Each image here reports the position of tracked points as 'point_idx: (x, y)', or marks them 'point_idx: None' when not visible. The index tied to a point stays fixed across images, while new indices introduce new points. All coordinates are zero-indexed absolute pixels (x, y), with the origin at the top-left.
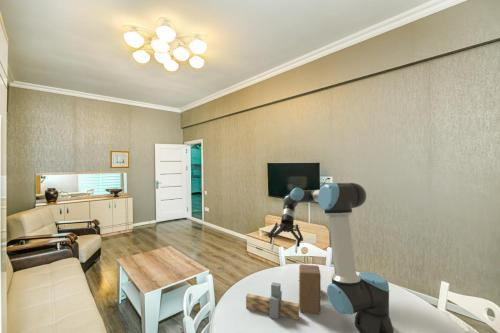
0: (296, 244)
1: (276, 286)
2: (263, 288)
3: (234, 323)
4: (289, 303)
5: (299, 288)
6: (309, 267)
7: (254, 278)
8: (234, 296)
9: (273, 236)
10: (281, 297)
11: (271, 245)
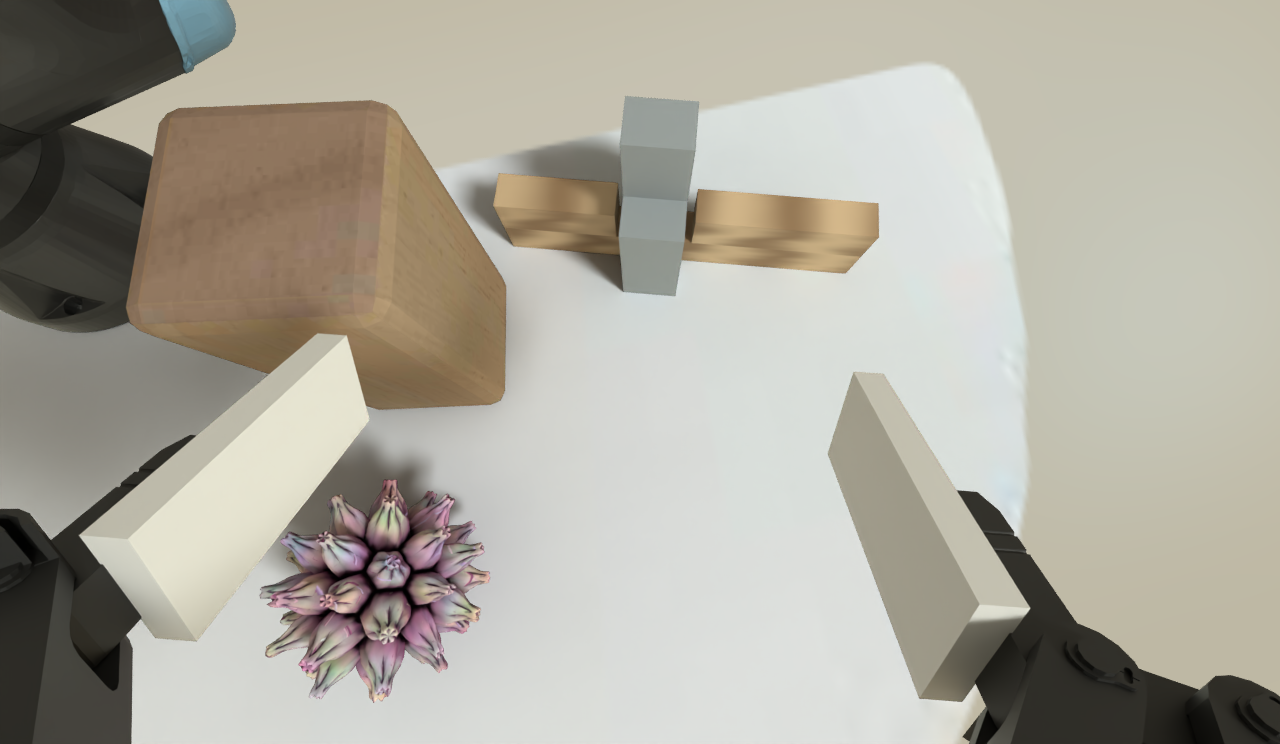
0: (233, 417)
1: (650, 101)
2: (797, 510)
3: (859, 110)
4: (558, 193)
5: (460, 215)
6: (252, 227)
7: None
8: (973, 346)
9: (1021, 680)
10: (621, 256)
11: (896, 405)
